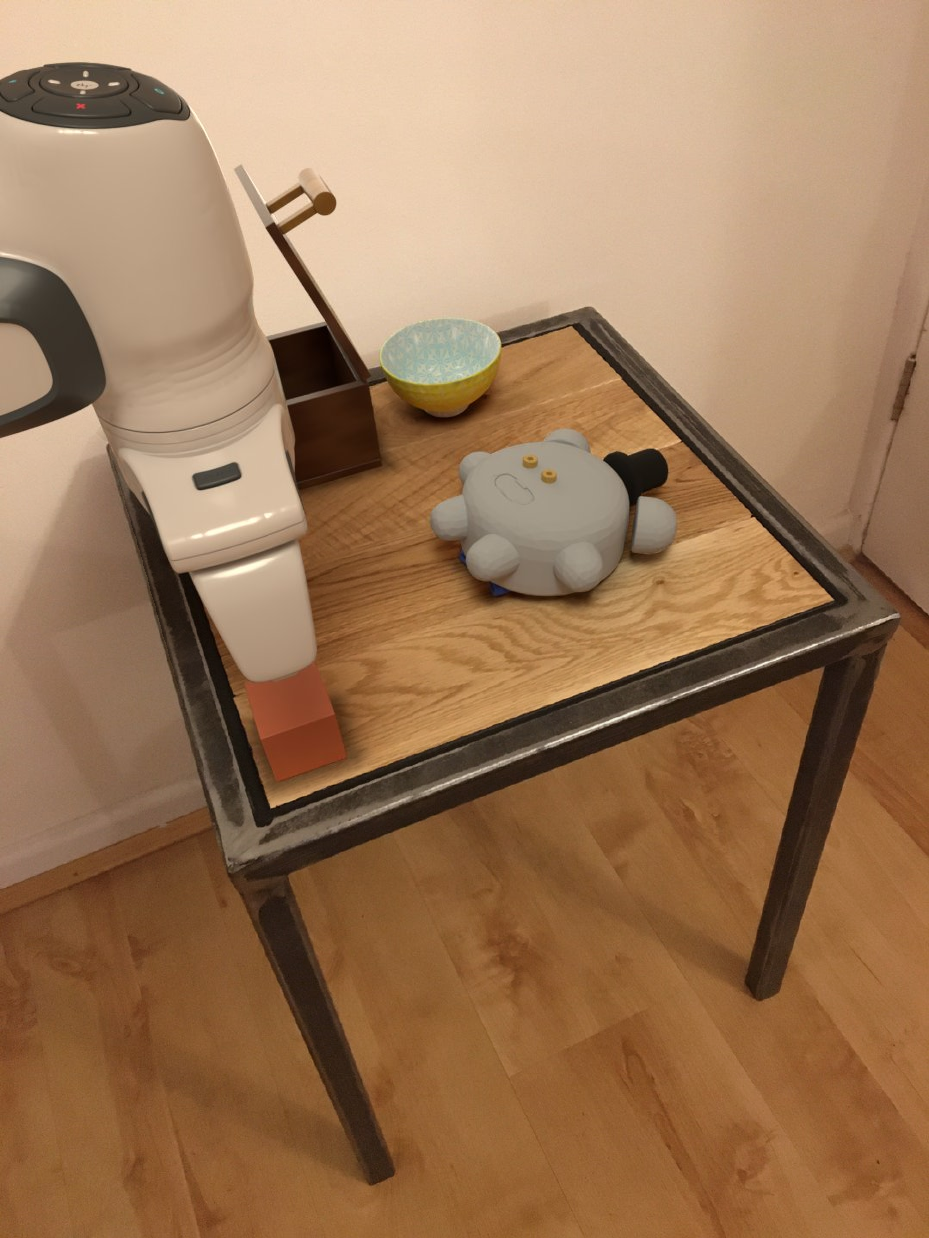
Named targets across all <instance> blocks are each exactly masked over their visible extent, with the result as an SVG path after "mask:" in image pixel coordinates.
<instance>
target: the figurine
mask: <svg viewBox="0 0 929 1238" xmlns="http://www.w3.org/2000/svg"><path fill="white" fill-rule="evenodd" d="M668 477H669V466H668V462H667V459H666V458H665V456H664V455H663V453H662V452H661V451H660V450H658V449H656V448H651V447H650V448H649V447H647V448H645V449H642V450H639V451H637V452H634V453H631V454H627V453H626V452H624V451H620V450H619V451H618V450H616V451H613V452H609V453H608V454H606V455H605V456H604V457H603V459H601V458H600V457H598V456H596V455H594V454H592V452H591V446H590V443H589V441H588V439H587V437H585V435H583V434H582V433H581V432H579V431H578V430H575V429H572V428H557V429H555V430H553V431H551V432H550V433H549V434H547V435H546V436H545V437H544V439H543V440H542V441H533V442H524V443H520V444H515V445H511V446H506V447H504V448H502V449H498V450H497V451H493V452H492V453H490V452H487V451H482V450H481V451H478V450H477V451H473V452H471V453H469V454H467V455H465V456H464V458H463V459H462V460H461V461H460V464H459V467H458V478H459V480H460V483H461V484H462V491H461V494H459V495H456V496H453V497H449V498H446V499H445V500H443V501H441V502H439V503H437V505H435V506H434V507H433V508H432V510H431V511H430V514H429V524H430V529H431V530H432V532H433V534H434V536H435V537H437V538H438V539H439V540H441V541H444V542H456V541H457V542H458V541H460V546H461V549H462V550H461V551H460V552H459V555H458V556H459V559H460V561H461V562H462V563H463V564H465V565H466V568H467V571H468V572H469V574H470V575H471V576H472V577H473V578H474V579H476V580H479V581H482V582H488V585H489V588H490V591H491V594H492V595H493V596H494V597H498V596H503V595H505V594H508V593H511V592H515V593H518V594H522V595H527V596H535V597H536V596H537V597H557V596H566V595H570V594H574V593H585V592H589V591H591V590H593V589H594V588H596V586H598V584H600V582H601V581H604V580H605V579H606V578H608V576H609V575H611V574H612V573H613V572H614V570H615V569H616V568H617V566H618V565H619V563H620V561H621V559H622V556H623V553H624V549H625V542H626V537H627V532H628V525H629V519H630V507H634V506H635V505H636V506H635V510H634V516H633V521H632V531H631V543H630V550H631V552H632V553H634V554H643V555H653V554H657V553H660V552H662V551H664V550H666V549H668V548H669V546H671V545H672V543H673V542H674V541H675V538H676V535H677V531H678V517H677V514H676V511H675V510H674V509H673V507H672V506H671V505H670V504H668V503H667V502H666V501H665V500H662V499H661V498H657V497H652V496H643V495H642V494H645V493H648V492H650V491H653V490H655V489H657V488H660V487H662V486H663V485H664V484H666V483H667V480H668Z"/></svg>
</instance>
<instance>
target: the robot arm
mask: <svg viewBox="0 0 929 1238" xmlns="http://www.w3.org/2000/svg"><path fill="white" fill-rule="evenodd" d="M221 166H222V165H221V163H220V162H219V158H218V155H217V153H216V151H215V148H214V146H213V143H212V142H211V140H210V138H209V136H208V133H207V132H206V130H205V128H204V125H203V124H202V122H201V121H200V119H199V117H198V116H197V114H196V112H195V111H194V110H193V108H192V107H191V105H189V104H188V102H187V101H186V100H185V98H183V96H181V95H180V94H179V93H178V92H177V91H176V90H174V89H173V88H171V87H170V86H168V85H167V84H166V83H164V82H163V81H161V80H160V79H158V78H156V77H154V76H151V75H147V74H144V73H142V72H139V71H137V70H136V71H135V70H133V69H132V68H130V67H125V66H121V65H115V64H109V63H108V64H107V63H101V62H100V63H99V62H88V61H81V62H80V61H70V62H69V61H67V62H55V63H47V64H46V63H45V64H43V66H37V67H32V68H27V69H21V70H18V71H15V72H13V73H11V74H9V75H7V76H4V77H2V78H0V439H3V438H6V437H9V436H12V435H17V434H19V433H23V432H26V431H29V430H32V429H35V428H40V427H41V426H44V425H47V424H50V423H53V422H56V421H58V420H61V419H63V418H66V417H68V416H71V415H73V414H75V413H77V412H80V411H81V410H84V409H85V408H88V407H89V406H92V408H93V410H94V413H95V414H96V416H97V419H98V422H99V424H100V426H101V428H102V431H103V433H104V435H105V439H106V440H107V442H108V444H109V447H110V449H111V452H112V454H113V456H114V458H115V460H116V464H117V465H118V468H119V470H120V472H121V475H122V477H123V479H124V481H125V483H126V485H127V487H128V488H129V490H130V491H131V492H132V493H133V494H134V496H135V497H136V498H137V500H138V501H139V503H140V504H141V506H142V507H143V508H144V510H145V511H146V512H147V513H148V515H150V518H151V520H152V523H153V525H154V528H155V531H156V534H157V537H158V539H159V541H160V544H161V547H162V549H163V551H164V553H165V556H166V557H167V559H168V562H169V564H170V567H171V568H172V570H173V571H174V572H175V573H177V574H184V573H188V575H189V577H190V579H191V581H192V583H193V585H194V587H195V589H196V591H197V594H198V596H199V597H200V600H201V602H202V604H203V606H204V608H205V610H206V611H207V613H208V615H209V617H210V619H211V620H212V623H213V625H214V626H215V628H216V630H217V632H218V634H219V636H220V637H221V639H222V641H223V643H224V645H225V647H226V648H227V651H228V652H229V654H230V656H231V658H232V660H233V661H234V663H235V665H236V666H237V668H238V670H239V671H240V673H241V674H242V675H243V677H244V678H245V679H246V680H248V681H249V682H253V683H264V682H268V681H276V682H278V681H281V680H284V679H287V678H290V677H293V676H295V675H297V674H298V673H299V672H300V671H301V670H303V669H306V668H308V667H309V666H311V665H312V664H313V663H314V661H316V659H317V656H318V643H317V635H316V628H315V622H314V616H313V610H312V604H311V596H310V591H309V585H308V580H307V575H306V570H305V565H304V559H303V553H302V550H301V544H300V541H299V538H301V537H304V536H306V535H307V533H308V531H309V525H308V521H307V518H306V512H305V508H304V504H303V500H302V497H301V493H300V490H298V486H297V483H296V478H295V453H294V446H295V435H294V430H293V426H292V422H291V419H290V415H289V411H288V407H287V403H286V399H285V395H284V392H283V388H282V384H281V380H280V376H279V372H278V368H277V364H276V360H275V357H274V353H273V350H272V347H271V345H270V343H269V341H268V339H267V338H266V336H267V335H266V334H265V333H264V331H263V329H262V328H261V327H260V324H259V322H258V319H257V317H256V312H255V308H254V307H255V306H254V291H255V280H254V273H253V267H252V262H251V260H250V255H249V252H248V248H247V244H246V240H245V238H244V233H243V230H242V227H241V224H240V219H239V216H238V213H237V211H236V206H235V204H234V200H233V197H232V194H231V191H230V188H229V186H228V183H227V181H226V177H225V175H224V172H223V168H222V167H221Z"/></svg>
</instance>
